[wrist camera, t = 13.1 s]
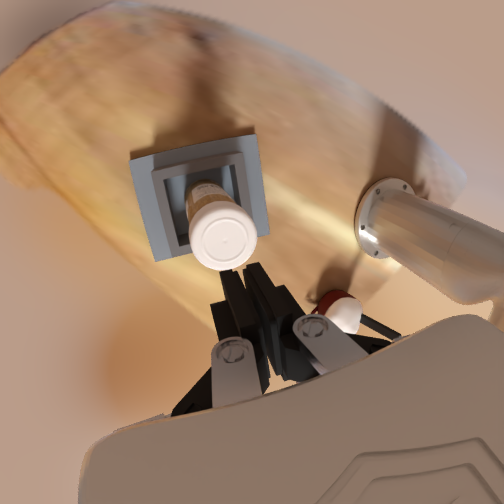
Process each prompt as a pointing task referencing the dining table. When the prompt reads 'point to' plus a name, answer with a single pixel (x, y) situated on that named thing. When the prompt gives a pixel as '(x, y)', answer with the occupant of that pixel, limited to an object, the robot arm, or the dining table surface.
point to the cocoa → (349, 314)
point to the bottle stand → (187, 172)
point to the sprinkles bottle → (218, 226)
